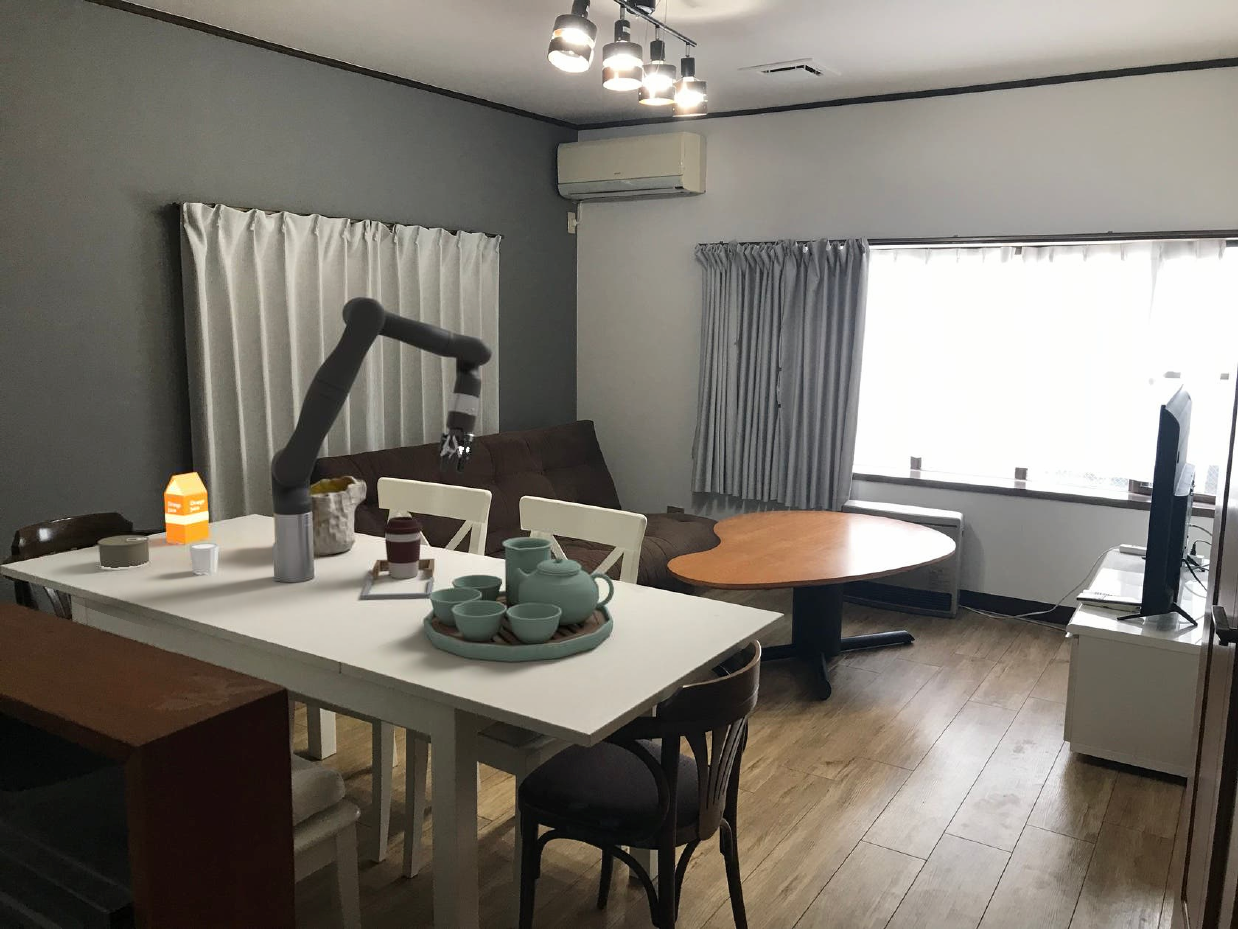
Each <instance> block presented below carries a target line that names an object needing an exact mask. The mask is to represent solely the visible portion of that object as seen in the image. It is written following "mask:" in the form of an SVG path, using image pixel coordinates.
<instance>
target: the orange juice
mask: <svg viewBox="0 0 1238 929" xmlns="http://www.w3.org/2000/svg"><path fill="white" fill-rule="evenodd" d="M163 494H164V511H165V512H164V514H165V516H164V517H165V530H166V542H167V541H172V542H178V543H184V544H186V543H189V542H193V541H198V540H201V539H205V538H209V539H210V524H209V508H208V506H209V505H208V491H207V489H206V487H205V485H204V484H203V481H202V479H201V478H200V476H199V474H198V473H197V471H195V472H189V473H183V474H177V475H172V477H171V479H170V482H169V484H168V485H167V487H166V489H165V491H164V493H163Z"/></svg>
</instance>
